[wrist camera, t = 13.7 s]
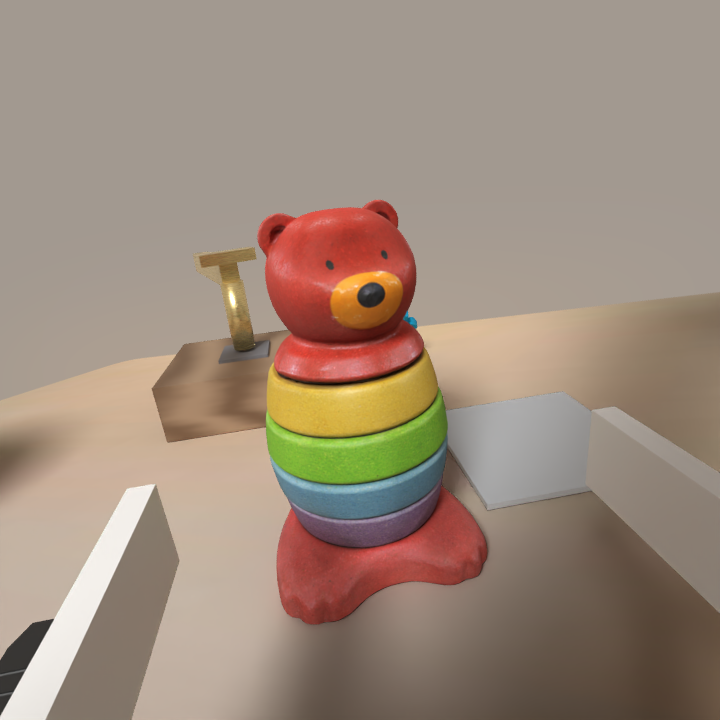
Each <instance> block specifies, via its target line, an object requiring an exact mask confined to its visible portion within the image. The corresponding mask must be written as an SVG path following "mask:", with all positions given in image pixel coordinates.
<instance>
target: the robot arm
mask: <svg viewBox="0 0 720 720" xmlns="http://www.w3.org/2000/svg"><path fill="white" fill-rule="evenodd" d="M585 484H586V485H587V486H588V487H589V488H590V489H591V490H592V491H593V492H594V493H595V494H596V495H597V496H598V497H599V498H600V499H601V500H602V501H603V502H604V503H605V504H606V505H607V506H609V507H610V508H611V509H612V510H613V511H614V512H615V513H616V514H617V515H618V516H619V517H620V518H621V519H622V520H623V521H624V522H625V523H626V524H627V525H628V526H629V527H630V528H631V529H632V530H634V531H635V532H636V533H637V534H638V535H639V536H640V537H641V538H642V539H643V540H644V541H645V542H646V543H647V544H648V545H649V546H650V547H651V548H652V549H653V550H654V551H655V552H656V553H657V554H659V555H660V556H661V557H662V558H663V559H664V560H665V561H666V562H667V563H668V564H669V565H670V566H671V567H672V568H673V569H674V570H675V571H676V572H677V573H678V574H679V575H680V576H681V577H682V578H683V579H685V580H686V581H687V582H688V583H689V584H690V585H691V586H692V587H693V588H694V589H695V590H696V591H697V592H698V593H699V594H700V595H701V596H702V597H703V598H704V599H705V600H706V601H707V602H708V603H710V604H711V605H712V606H713V607H714V608H715V609H716V610H717V611H718V612H719V613H720V473H719V472H718V471H716V470H715V469H713V468H711V467H710V466H708V465H707V464H705V463H704V462H702V461H700V460H699V459H697V458H696V457H694V456H693V455H691V454H689V453H688V452H686V451H685V450H683V449H682V448H680V447H678V446H677V445H675V444H674V443H672V442H670V441H669V440H667V439H666V438H664V437H663V436H661V435H659V434H658V433H656V432H655V431H653V430H652V429H650V428H648V427H647V426H645V425H644V424H642V423H641V422H639V421H637V420H636V419H634V418H633V417H631V416H629V415H628V414H626V413H625V412H623V411H622V410H620V409H618V408H617V407H615V406H613V407H607V408H601V409H595V410H592V415H591V426H590V437H589V448H588V459H587V470H586V481H585ZM178 563H179V557H178V554H177V551H176V547H175V544H174V541H173V538H172V535H171V531H170V528H169V525H168V522H167V519H166V515H165V512H164V509H163V506H162V503H161V499H160V496H159V493H158V490H157V486H156V484H152V485H146V486H140V487H134V488H128V489H127V490H126V492H125V494H124V495H123V497H122V499H121V501H120V502H119V504H118V506H117V508H116V510H115V511H114V513H113V515H112V517H111V519H110V520H109V522H108V524H107V526H106V528H105V529H104V531H103V533H102V535H101V537H100V538H99V540H98V542H97V544H96V546H95V547H94V549H93V551H92V553H91V554H90V556H89V558H88V560H87V562H86V563H85V565H84V567H83V569H82V571H81V572H80V574H79V576H78V578H77V580H76V581H75V583H74V585H73V587H72V589H71V590H70V592H69V594H68V596H67V597H66V599H65V601H64V603H63V605H62V606H61V608H60V610H59V612H58V614H57V615H56V617H55V619H51V620H46V621H41V622H35V623H32V624H31V625H30V626H29V627H28V628H27V629H26V630H25V631H24V632H23V633H22V634H21V635H20V636H19V637H18V638H17V639H16V640H15V641H14V642H13V643H12V644H11V645H10V646H9V647H8V649H7V650H6V652H5V654H4V655H3V657H2V658H1V660H0V720H131V719H132V716H133V712H134V709H135V706H136V702H137V699H138V696H139V692H140V689H141V686H142V683H143V679H144V676H145V673H146V669H147V666H148V663H149V659H150V656H151V653H152V649H153V646H154V643H155V640H156V636H157V633H158V630H159V626H160V623H161V620H162V616H163V613H164V610H165V606H166V603H167V600H168V597H169V593H170V590H171V587H172V583H173V580H174V577H175V573H176V570H177V567H178Z"/></svg>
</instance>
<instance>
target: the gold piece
mask: <svg viewBox="0 0 720 720" xmlns="http://www.w3.org/2000/svg"><path fill="white" fill-rule="evenodd" d="M193 257H194V261H195V266H196V270H197V272H199V273H200V274H202V275H204V276H206V277H208V278H209V279H211V280H212V281H214V282H216V283H218V284H219V285H220V286H221V290H222V295H223V300H224V304H225V309H226V314H227V319H228V323H229V328H230V332H231V337H232V342H233V347H234V350H238V351H241V350H247V349H251V348H253V347H255V341H254V336H253V330H252V325H251V321H250V315H249V310H248V305H247V299H246V294H245V289H244V284H243V280H240V276H239V272H238V266H237V262H242V261H248V260H254V259H256V254H255V248H253V247H245V248H239V249H232V250H225V251H218V252H212V253H210V252H202V253H195V254H193Z"/></svg>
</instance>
